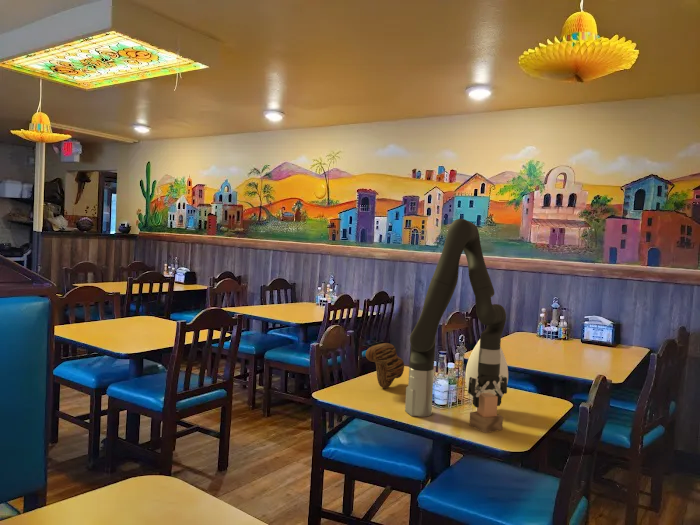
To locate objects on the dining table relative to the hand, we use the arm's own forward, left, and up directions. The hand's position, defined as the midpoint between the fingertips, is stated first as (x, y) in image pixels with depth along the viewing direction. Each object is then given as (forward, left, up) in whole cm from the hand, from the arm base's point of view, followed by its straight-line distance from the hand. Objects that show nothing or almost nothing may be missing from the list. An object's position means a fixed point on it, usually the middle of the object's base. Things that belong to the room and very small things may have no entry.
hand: (486, 406), depth 194 cm
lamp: (+10, +17, -8) cm, 21 cm away
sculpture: (-18, +52, -8) cm, 56 cm away
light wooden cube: (0, 0, -3) cm, 3 cm away
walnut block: (0, 0, -8) cm, 8 cm away
